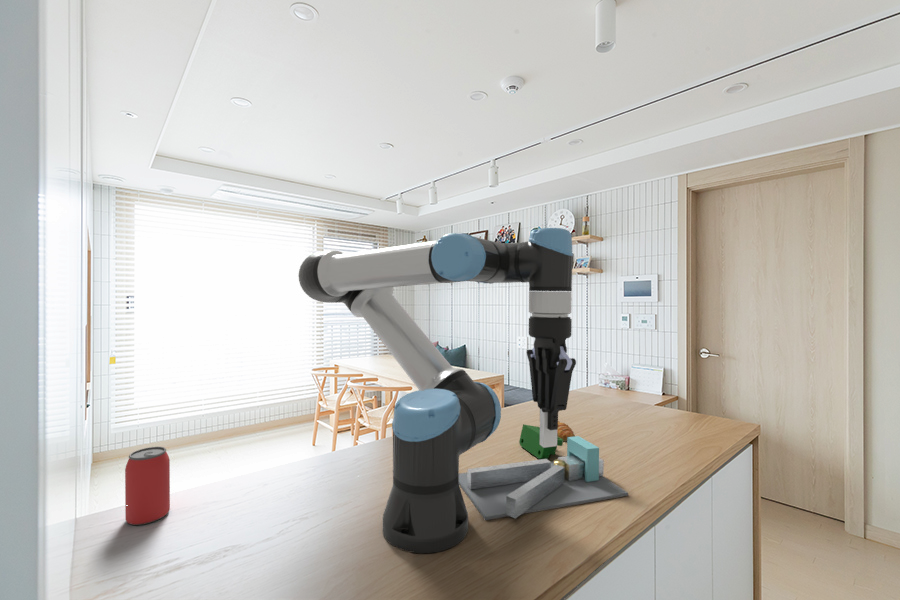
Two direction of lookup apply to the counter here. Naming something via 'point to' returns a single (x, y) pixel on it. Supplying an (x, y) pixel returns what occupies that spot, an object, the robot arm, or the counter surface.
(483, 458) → the counter surface
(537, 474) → the tongs body
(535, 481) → the arm
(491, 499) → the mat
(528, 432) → the clamp
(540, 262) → the robot arm
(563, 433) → the pastry
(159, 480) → the beer can
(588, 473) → the collar
